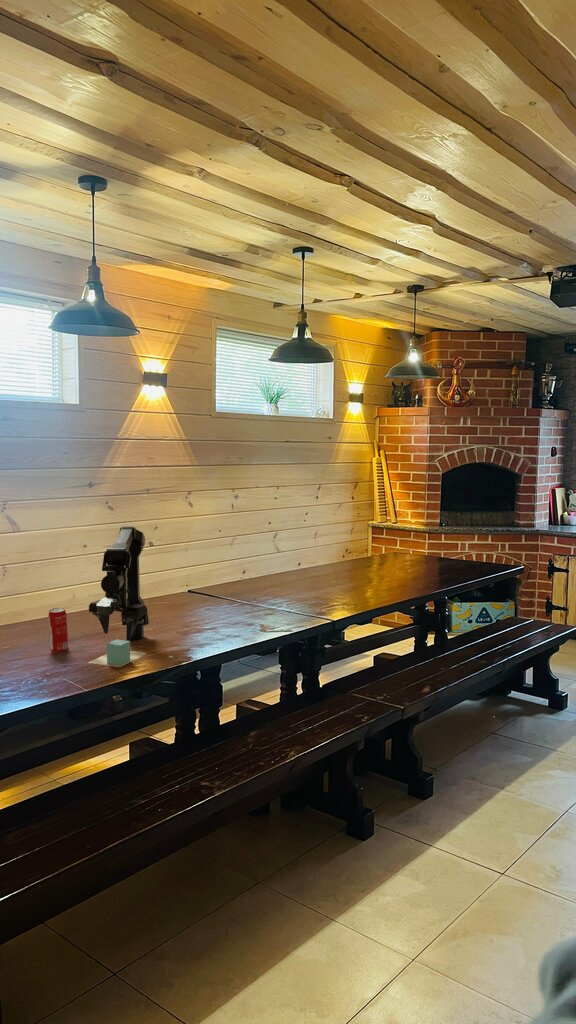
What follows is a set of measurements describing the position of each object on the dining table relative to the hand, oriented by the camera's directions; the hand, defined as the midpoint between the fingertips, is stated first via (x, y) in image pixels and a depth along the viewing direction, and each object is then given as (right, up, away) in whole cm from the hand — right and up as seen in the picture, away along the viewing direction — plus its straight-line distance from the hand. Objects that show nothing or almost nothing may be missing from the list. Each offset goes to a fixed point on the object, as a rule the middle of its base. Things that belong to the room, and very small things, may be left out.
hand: (118, 634), depth 228 cm
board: (-1, -10, +6) cm, 11 cm away
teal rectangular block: (0, -9, +1) cm, 9 cm away
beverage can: (-24, -9, +15) cm, 29 cm away
